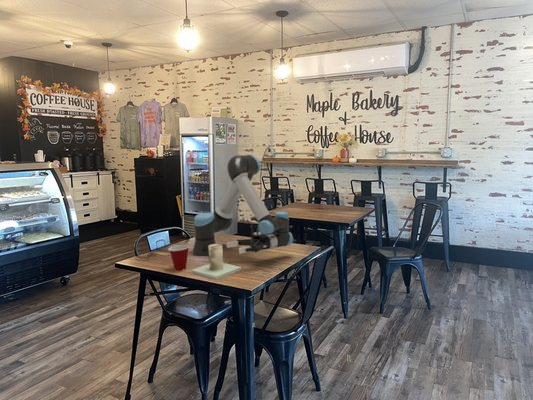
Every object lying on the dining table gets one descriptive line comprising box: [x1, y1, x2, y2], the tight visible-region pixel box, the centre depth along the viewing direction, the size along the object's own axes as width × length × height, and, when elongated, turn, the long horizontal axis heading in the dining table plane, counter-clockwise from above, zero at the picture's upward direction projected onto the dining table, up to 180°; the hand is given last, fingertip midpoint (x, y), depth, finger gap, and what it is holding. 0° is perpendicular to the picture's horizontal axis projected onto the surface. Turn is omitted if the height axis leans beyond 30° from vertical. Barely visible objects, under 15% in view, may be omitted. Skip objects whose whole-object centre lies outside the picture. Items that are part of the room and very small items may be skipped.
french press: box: [250, 216, 266, 240], centre depth 259 cm, size 12×9×23 cm
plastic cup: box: [168, 244, 190, 271], centre depth 208 cm, size 11×11×12 cm
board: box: [190, 262, 242, 280], centre depth 204 cm, size 18×18×2 cm
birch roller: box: [208, 243, 224, 271], centre depth 203 cm, size 7×7×12 cm
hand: (233, 247), depth 207 cm, fingers open, 13 cm apart
